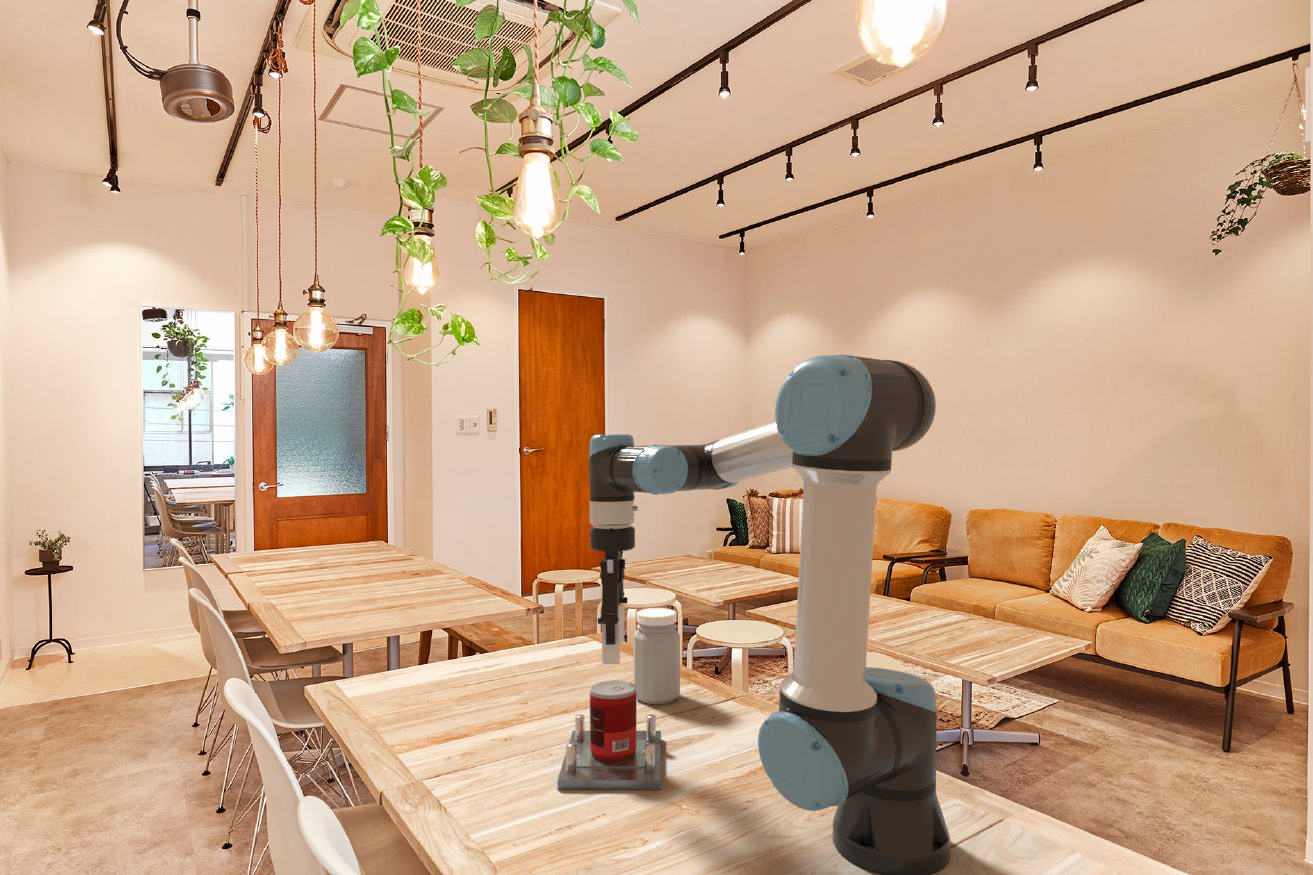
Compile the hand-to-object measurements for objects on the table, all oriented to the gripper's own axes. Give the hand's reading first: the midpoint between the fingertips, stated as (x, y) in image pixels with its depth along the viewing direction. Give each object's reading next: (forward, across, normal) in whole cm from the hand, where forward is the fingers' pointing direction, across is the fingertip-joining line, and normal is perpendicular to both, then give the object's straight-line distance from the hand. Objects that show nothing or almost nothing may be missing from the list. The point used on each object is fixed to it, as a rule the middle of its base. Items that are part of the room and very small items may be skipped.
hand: (614, 652), depth 130 cm
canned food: (+17, 0, 0) cm, 17 cm away
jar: (+18, +32, -7) cm, 38 cm away
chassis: (+19, 0, 0) cm, 19 cm away
